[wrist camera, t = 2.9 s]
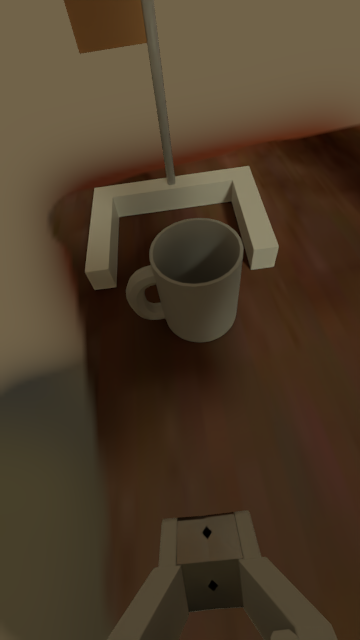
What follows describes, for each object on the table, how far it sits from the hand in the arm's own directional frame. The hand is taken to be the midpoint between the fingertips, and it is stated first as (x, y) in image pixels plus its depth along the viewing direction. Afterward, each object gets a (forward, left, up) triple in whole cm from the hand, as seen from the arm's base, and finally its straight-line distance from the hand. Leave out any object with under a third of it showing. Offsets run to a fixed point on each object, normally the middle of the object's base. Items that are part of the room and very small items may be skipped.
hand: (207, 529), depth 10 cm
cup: (-6, -16, -13) cm, 21 cm away
